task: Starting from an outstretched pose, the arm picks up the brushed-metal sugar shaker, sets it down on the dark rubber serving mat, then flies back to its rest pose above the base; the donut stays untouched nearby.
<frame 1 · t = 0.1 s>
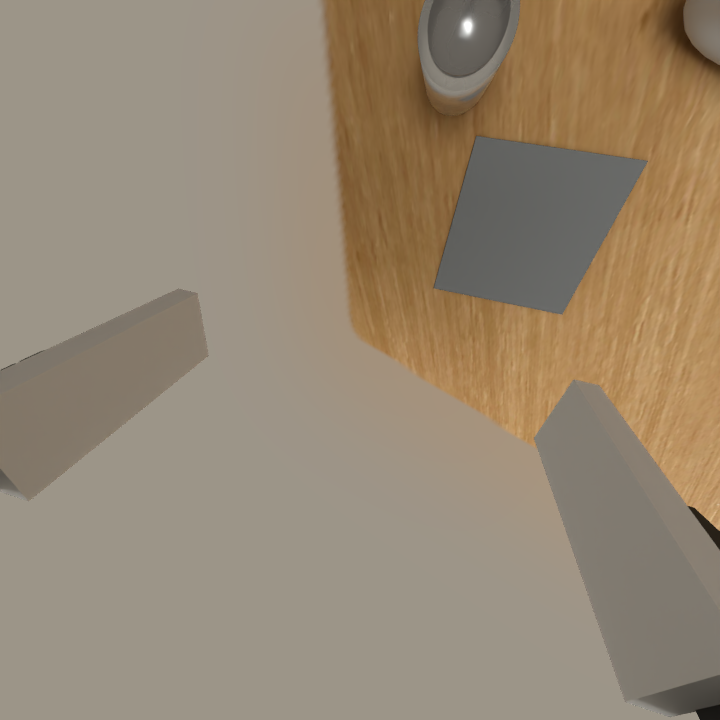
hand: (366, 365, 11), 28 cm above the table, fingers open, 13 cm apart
donut: (715, 34, 22), on the table
mat: (523, 234, 32), on the table
shaker: (457, 75, 27), on the table
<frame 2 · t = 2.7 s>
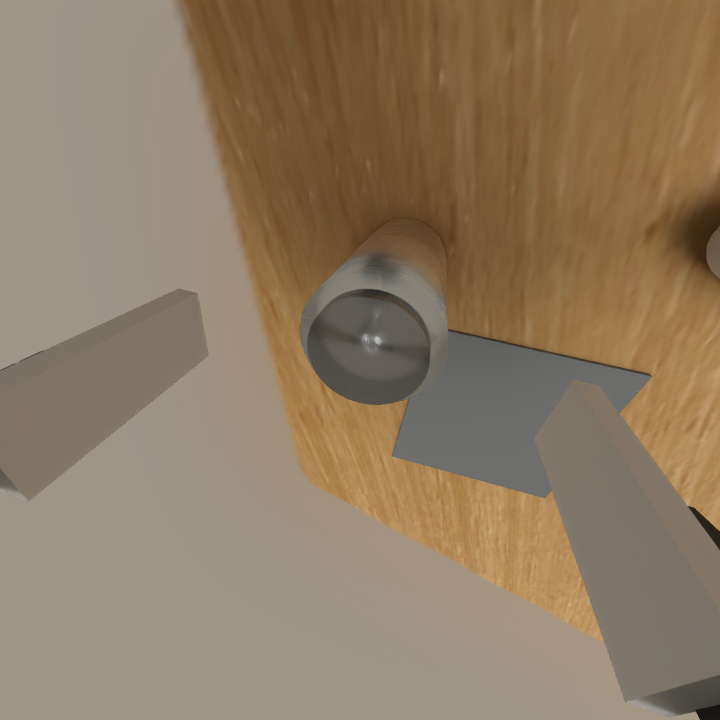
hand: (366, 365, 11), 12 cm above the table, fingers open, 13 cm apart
mat: (495, 422, 26), on the table
shaker: (403, 263, 20), on the table
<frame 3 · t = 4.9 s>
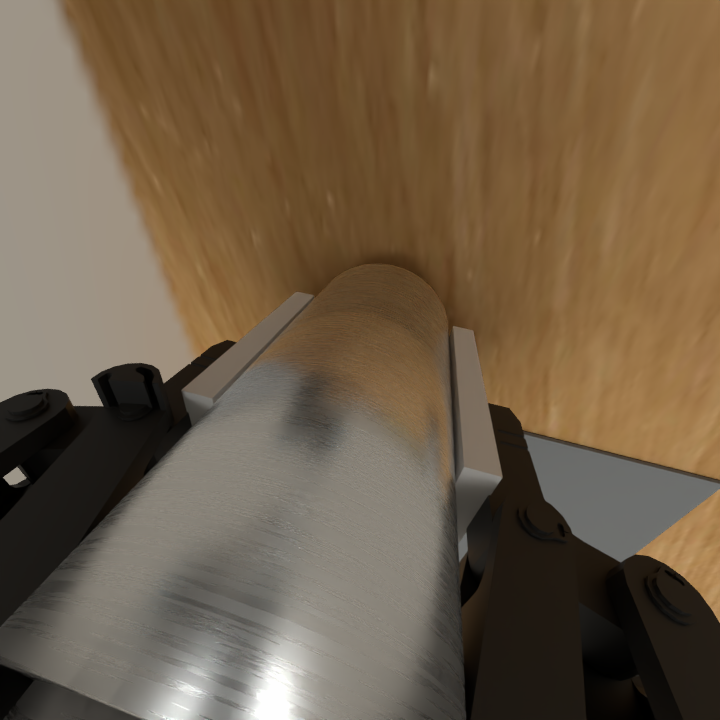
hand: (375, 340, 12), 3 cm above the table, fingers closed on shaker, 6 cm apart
mat: (506, 519, 20), on the table
shaker: (378, 331, 13), point 2 cm above the table, touching gripper
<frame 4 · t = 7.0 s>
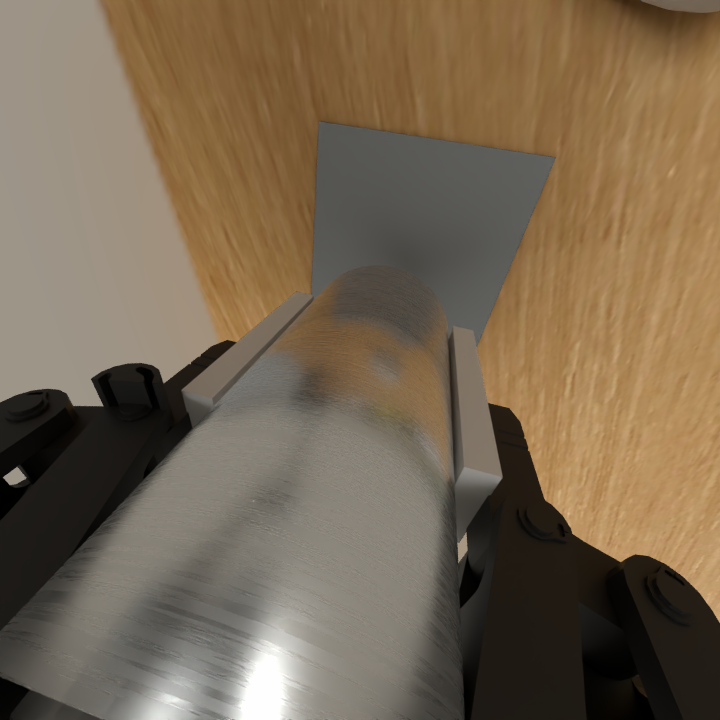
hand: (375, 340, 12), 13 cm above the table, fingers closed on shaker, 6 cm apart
mat: (406, 257, 23), on the table
shaker: (377, 333, 12), point 13 cm above the table, touching gripper
when the fingers open (2 cm above the table, at t = 9.2 s): shaker drops 1 cm, resting on mat.
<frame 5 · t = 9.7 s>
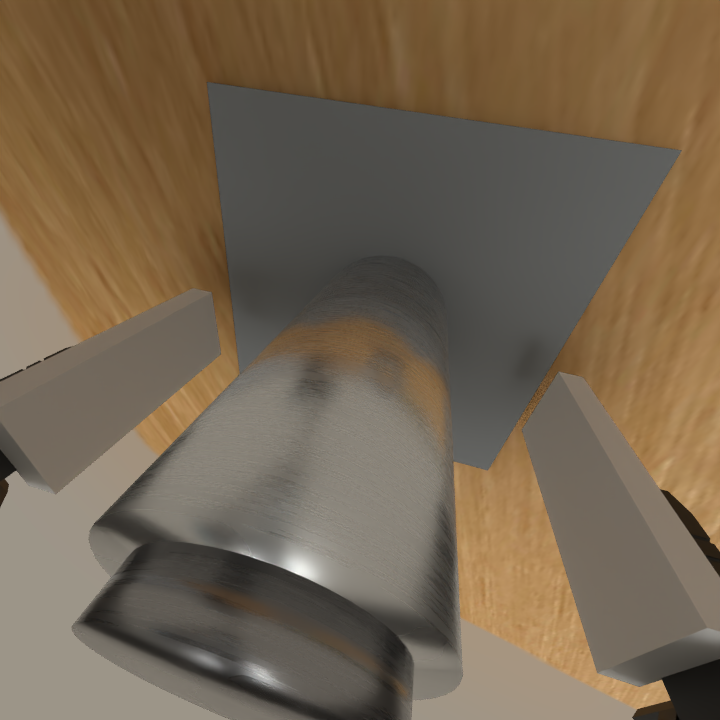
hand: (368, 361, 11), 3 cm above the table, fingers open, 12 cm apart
mat: (382, 321, 14), on the table
shaker: (382, 319, 14), resting on mat
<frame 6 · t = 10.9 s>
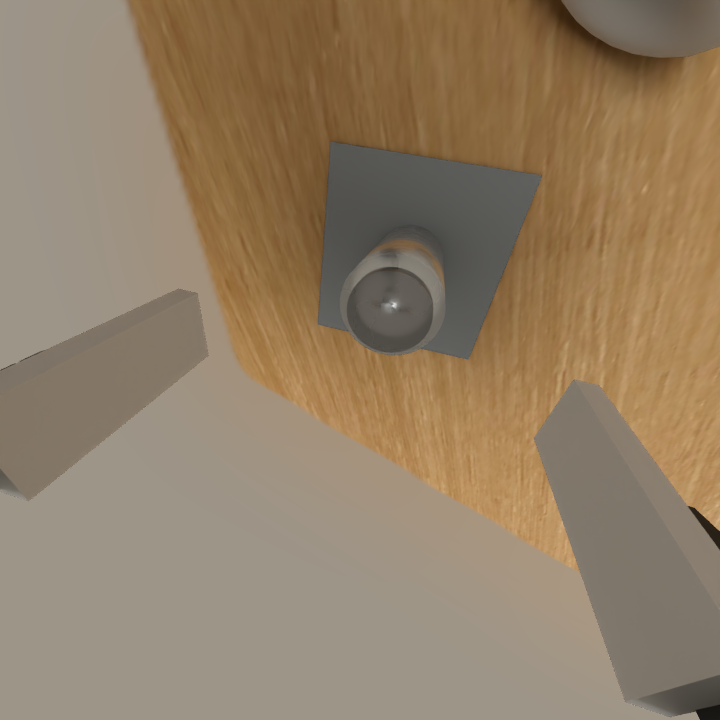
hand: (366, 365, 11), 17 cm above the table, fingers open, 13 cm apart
donut: (607, 5, 16), on the table
mat: (408, 263, 25), on the table
shaker: (408, 261, 25), resting on mat
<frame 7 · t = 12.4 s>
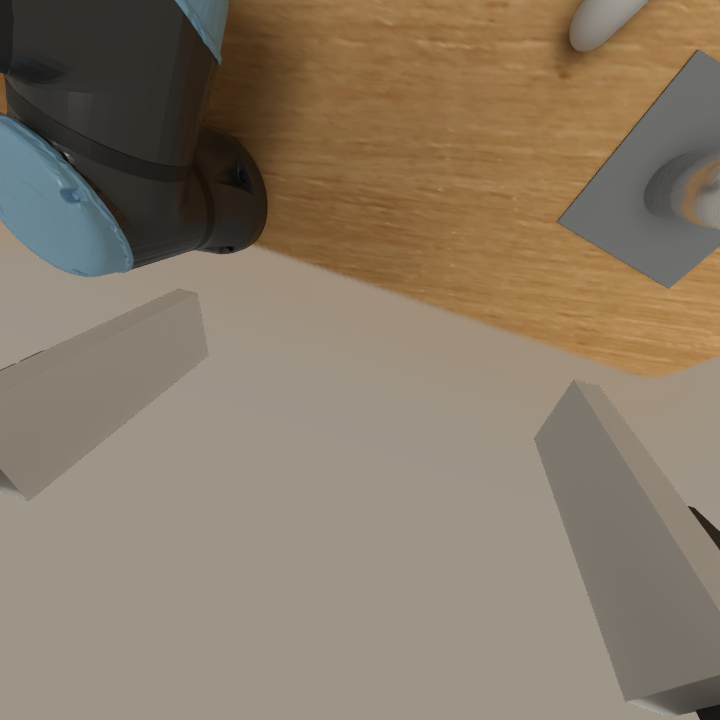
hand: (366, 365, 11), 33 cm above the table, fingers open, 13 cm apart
donut: (616, 1, 25), on the table
mat: (679, 187, 30), on the table
shaker: (679, 186, 30), resting on mat
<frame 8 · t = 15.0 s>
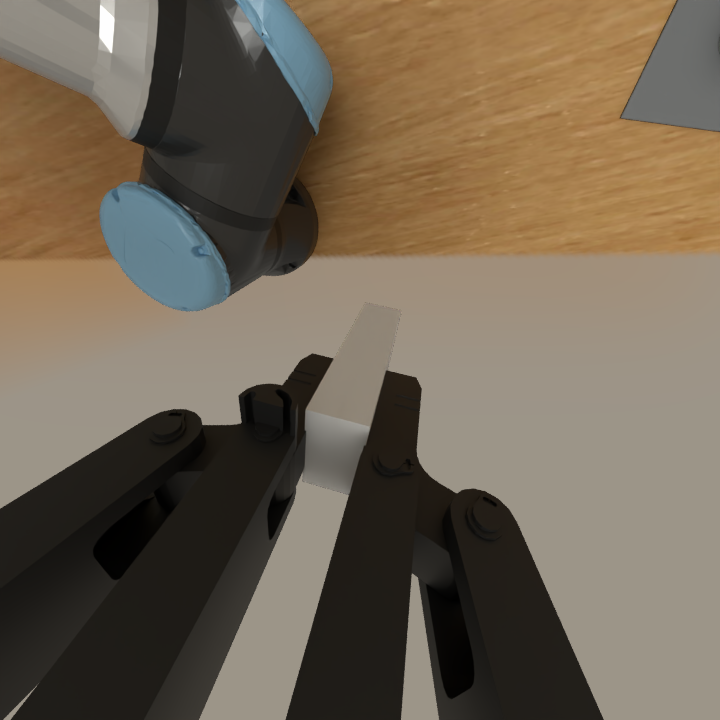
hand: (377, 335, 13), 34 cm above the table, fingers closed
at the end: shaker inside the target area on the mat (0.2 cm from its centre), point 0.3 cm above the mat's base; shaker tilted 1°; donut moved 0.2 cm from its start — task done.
